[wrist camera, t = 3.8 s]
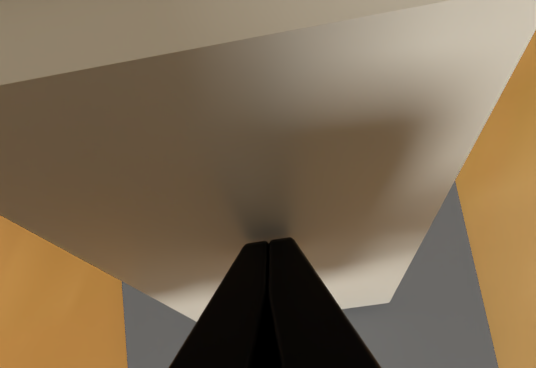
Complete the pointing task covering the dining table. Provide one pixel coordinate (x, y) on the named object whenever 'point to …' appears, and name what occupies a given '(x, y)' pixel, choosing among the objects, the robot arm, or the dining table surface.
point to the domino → (245, 130)
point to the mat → (370, 310)
